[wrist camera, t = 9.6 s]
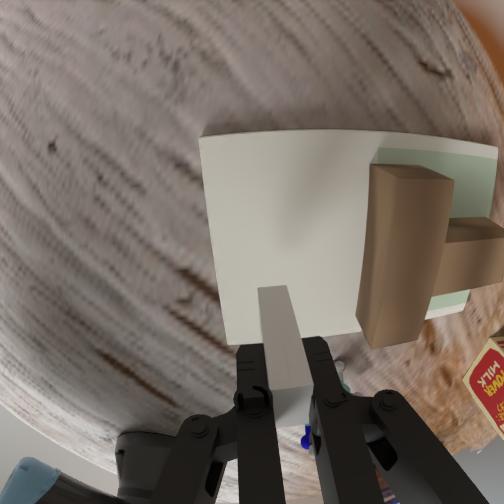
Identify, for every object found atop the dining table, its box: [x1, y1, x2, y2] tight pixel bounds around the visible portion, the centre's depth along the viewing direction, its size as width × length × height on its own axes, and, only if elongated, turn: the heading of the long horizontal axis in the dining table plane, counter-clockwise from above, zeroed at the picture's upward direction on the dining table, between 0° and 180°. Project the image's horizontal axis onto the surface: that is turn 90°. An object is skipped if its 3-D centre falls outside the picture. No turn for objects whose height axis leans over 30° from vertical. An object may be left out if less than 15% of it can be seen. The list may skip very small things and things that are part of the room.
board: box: [198, 129, 498, 345], centre depth 20 cm, size 23×16×1 cm
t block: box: [355, 164, 504, 350], centre depth 18 cm, size 12×12×4 cm
